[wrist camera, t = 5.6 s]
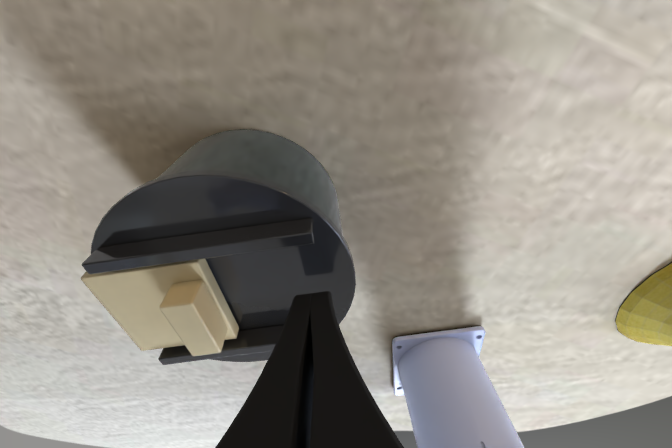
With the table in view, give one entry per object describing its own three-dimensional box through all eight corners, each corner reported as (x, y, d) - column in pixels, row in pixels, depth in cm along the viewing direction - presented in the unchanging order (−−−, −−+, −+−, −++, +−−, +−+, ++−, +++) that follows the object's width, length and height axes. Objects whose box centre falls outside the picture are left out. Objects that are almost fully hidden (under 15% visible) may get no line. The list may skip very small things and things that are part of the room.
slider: (202, 251, 11) (184, 286, 10) (239, 327, 14) (230, 364, 12) (89, 266, 11) (54, 303, 10) (147, 339, 14) (126, 377, 12)
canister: (331, 109, 15) (343, 165, 9) (351, 264, 21) (367, 366, 14) (127, 138, 15) (-8, 215, 9) (204, 284, 21) (157, 393, 15)
